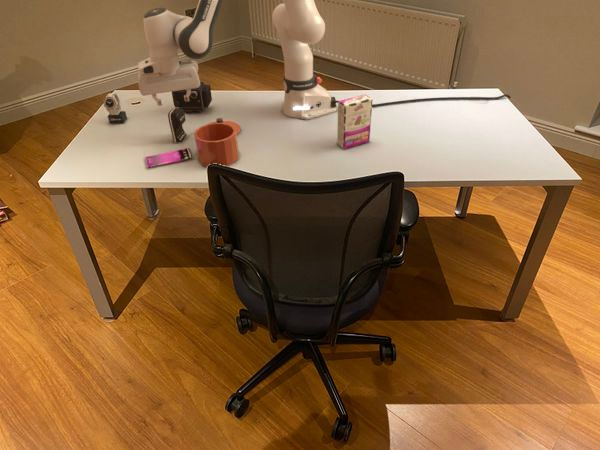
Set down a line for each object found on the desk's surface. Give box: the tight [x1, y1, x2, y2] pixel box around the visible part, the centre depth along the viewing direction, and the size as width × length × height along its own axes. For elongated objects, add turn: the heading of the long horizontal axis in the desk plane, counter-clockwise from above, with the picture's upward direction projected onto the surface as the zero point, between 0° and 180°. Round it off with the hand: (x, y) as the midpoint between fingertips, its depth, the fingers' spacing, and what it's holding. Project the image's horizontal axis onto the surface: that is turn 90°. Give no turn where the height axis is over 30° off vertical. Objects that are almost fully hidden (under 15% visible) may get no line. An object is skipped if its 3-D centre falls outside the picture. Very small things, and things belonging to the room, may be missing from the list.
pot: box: [193, 122, 240, 167], centre depth 148 cm, size 14×14×10 cm
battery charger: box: [167, 107, 187, 144], centre depth 158 cm, size 7×4×11 cm, turn 171°
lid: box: [208, 117, 241, 136], centre depth 164 cm, size 15×15×5 cm
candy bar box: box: [336, 94, 373, 150], centre depth 152 cm, size 11×5×16 cm, turn 117°
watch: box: [102, 92, 128, 124], centre depth 171 cm, size 6×8×11 cm
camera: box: [171, 81, 213, 113], centre depth 177 cm, size 11×11×15 cm
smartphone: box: [145, 147, 193, 169], centre depth 150 cm, size 7×15×1 cm, turn 111°
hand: (173, 102), depth 153 cm, fingers open, 8 cm apart
